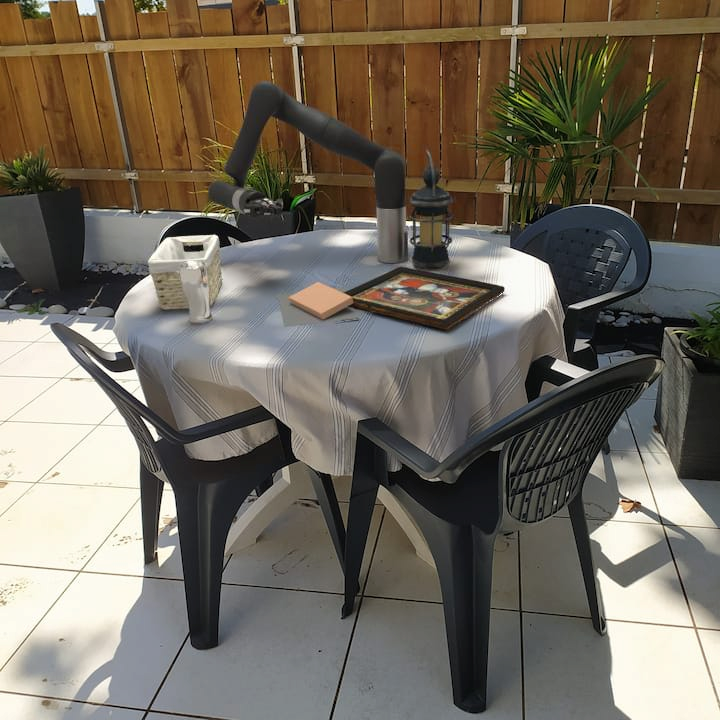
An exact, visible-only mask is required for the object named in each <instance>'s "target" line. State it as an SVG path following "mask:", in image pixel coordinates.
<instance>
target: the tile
mask: <svg viewBox="0 0 720 720" xmlns="http://www.w3.org/2000/svg"><path fill="white" fill-rule="evenodd" d="M297 292H298V293H296V294H294V295H292V296H290V297H289V301H290V303H291V304H293V305H295V306H297V307H299V308H301V309H303V310H305V311H307V312H309V313H311V314H313V315H314V316H316V317H318V318H320V319H322V320H324V319H326V318H328V317H329V316H331V315H333V314H335V313H337V312H338V311H340V310H342V309H344V308H346V307H348V306H349V305H351V304H353V299H352V297H351V296H349V295H347V294H344V293H342V292H340V291H337V290H335V289H333V287H330V286H328V285H326V284H323V283H322V282H319V281H317V282H315V283H313V284H311V285H310V286H307V287H306V288H304V289H301V290H300V291H297Z"/></svg>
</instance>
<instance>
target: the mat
mask: <svg viewBox="0 0 720 720" xmlns="http://www.w3.org/2000/svg"><path fill="white" fill-rule="evenodd" d="M332 288H333V287H332ZM333 289H335V290H337V291H340V292H342V293H344V292H346V290H345V289H344V287H336V288H335V287H334V288H333ZM298 292H299V291H296V292H288V293H287V292H285V293H277V294H276V295H277V300H278V305H279V309H280V312H281V317H282V321H283V322H282V323H283V327H293V326H302V325H303V326H304V325H309V324H310V325H312V324H317V323H318V324H319V323H320V324H321V323H328V322H329V323H331V322H338V321H345V320H353V319H359V316H358V314H357V312H356V310H355V307H353V306H348V307H346V308H344V309H342V310H340V311H338V312H337V313H335V314H333V315H331V316H329V317H328V318H326V319H324V320H322V319H320V318H318V317H316V316H314V315H313V314H311V313H309V312H307V311H305V310H303V309H301V308H299V307H297V306H295V305H293V304H291V303H290V301H289V297H290V296H292V295H294V294H296V293H298ZM359 320H360V319H359Z"/></svg>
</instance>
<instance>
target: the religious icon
mask: <svg viewBox="0 0 720 720" xmlns="http://www.w3.org/2000/svg"><path fill="white" fill-rule="evenodd" d="M503 292H504V293H505V286H503V285H498V284H494V283H490V282H484V281H479V280H475V279H471V278H470V279H469V278H463V277H459V276H453V275H447V274H444V273H443V274H441V273H438V272H431V271H426V270H421V269H416V268H411V267H405V266H399V267H397V268H394V269H391V270H390V271H387V272H385V273H383V274H381V275H378V276H377V277H375V278H373V279H370V280H368V281H366V282H364V283H361V284H360V285H359V284H358V286H355V287H353V288H350V289H348V290H345V292H344V294H347V295H349V296H351V297H352V299H353V304H351V305H349V306H353V308H358V309H361V310H366V311H369V312H373V313H377V314H381V315H385V316H389V317H394V318H398V319H401V320H404V321H409V320H410V321H409V322H414V323H418V324H421V323H422V325H425V324H426V326H429V325H430V327H433V326H434V327H433V328H437V327H439V328H438V329H441V328H443V329H442V330H449V329H451V328H452V327H453V325H454V326H456V325H457V324H459V323H461V322H462V321H464V320H465V319H467V318H468V317H470V316H472V313H473V312H474V313H476V312H477V311H478V310H480V309H481V308H480V307H482V306H483V305H484V306H486V305H487V304H486V303H487V302H489V301H490V300H492V299H494V298H496V297H497V296H499V295H500V294H501V293H503ZM504 293H503V294H504ZM500 296H501V295H500ZM500 296H499V297H500ZM497 298H498V297H497ZM497 298H496V299H497ZM494 300H495V299H494ZM492 301H493V300H492ZM489 303H490V302H489ZM485 304H486V305H485ZM484 306H483V307H484ZM483 307H482V308H483ZM479 308H480V309H479ZM477 309H478V310H477ZM476 310H477V311H476ZM475 311H476V312H475ZM474 313H473V314H474ZM469 315H470V316H469ZM466 317H467V318H466ZM463 319H464V320H463ZM461 320H462V321H461ZM458 322H459V323H458ZM456 323H457V324H456ZM455 324H456V325H455ZM450 327H451V328H450Z"/></svg>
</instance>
